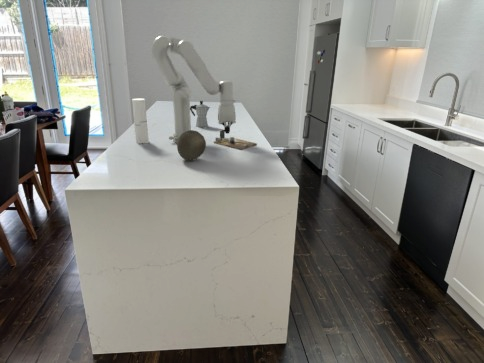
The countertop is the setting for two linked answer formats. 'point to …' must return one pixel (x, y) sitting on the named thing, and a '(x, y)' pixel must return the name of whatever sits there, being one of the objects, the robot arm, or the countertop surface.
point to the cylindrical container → (140, 120)
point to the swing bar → (222, 136)
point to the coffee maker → (200, 114)
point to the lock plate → (235, 143)
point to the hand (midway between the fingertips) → (227, 133)
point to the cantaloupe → (191, 145)
